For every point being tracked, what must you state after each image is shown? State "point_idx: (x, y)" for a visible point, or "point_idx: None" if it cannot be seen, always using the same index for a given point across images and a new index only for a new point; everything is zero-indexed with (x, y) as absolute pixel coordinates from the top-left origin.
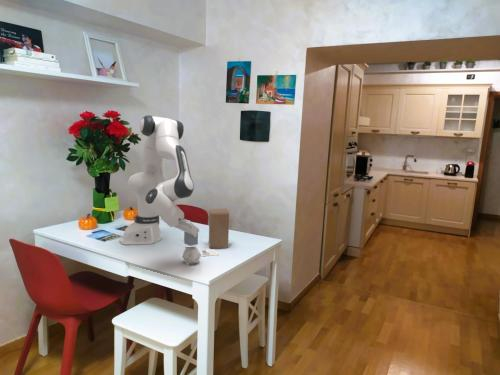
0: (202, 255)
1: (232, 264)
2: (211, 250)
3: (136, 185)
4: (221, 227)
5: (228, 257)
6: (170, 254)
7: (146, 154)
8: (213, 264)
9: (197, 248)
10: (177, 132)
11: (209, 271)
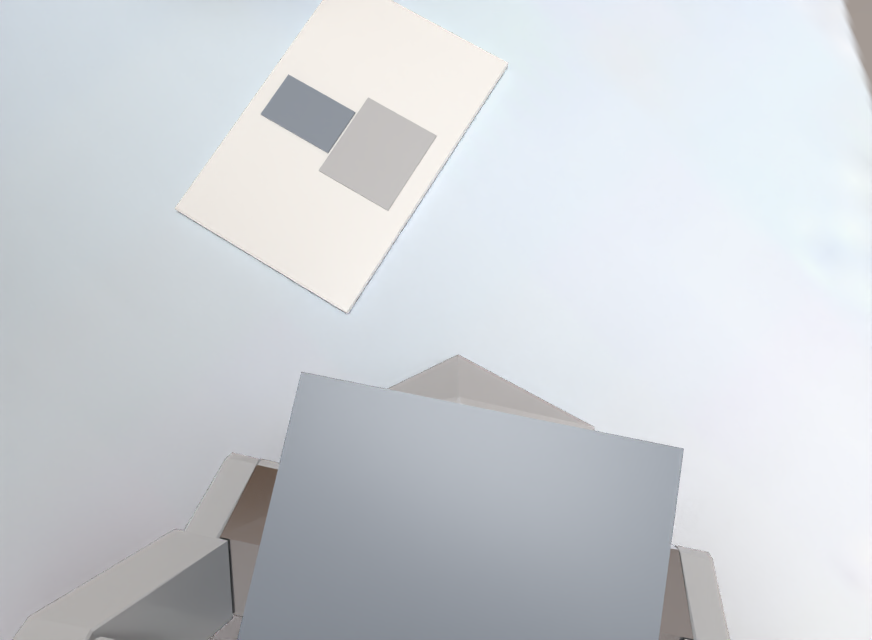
0: (384, 223)
1: (859, 185)
2: (344, 24)
3: None
4: None
5: (655, 50)
6: (17, 469)
7: None
8: (697, 341)
9: (500, 408)
10: None
11: (839, 550)
